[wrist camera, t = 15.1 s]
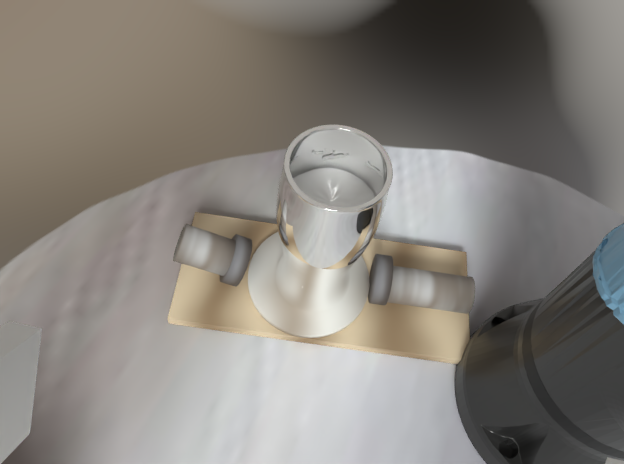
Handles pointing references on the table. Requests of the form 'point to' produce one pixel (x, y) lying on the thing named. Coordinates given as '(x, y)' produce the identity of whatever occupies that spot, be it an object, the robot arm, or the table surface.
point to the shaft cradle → (341, 318)
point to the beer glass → (328, 212)
